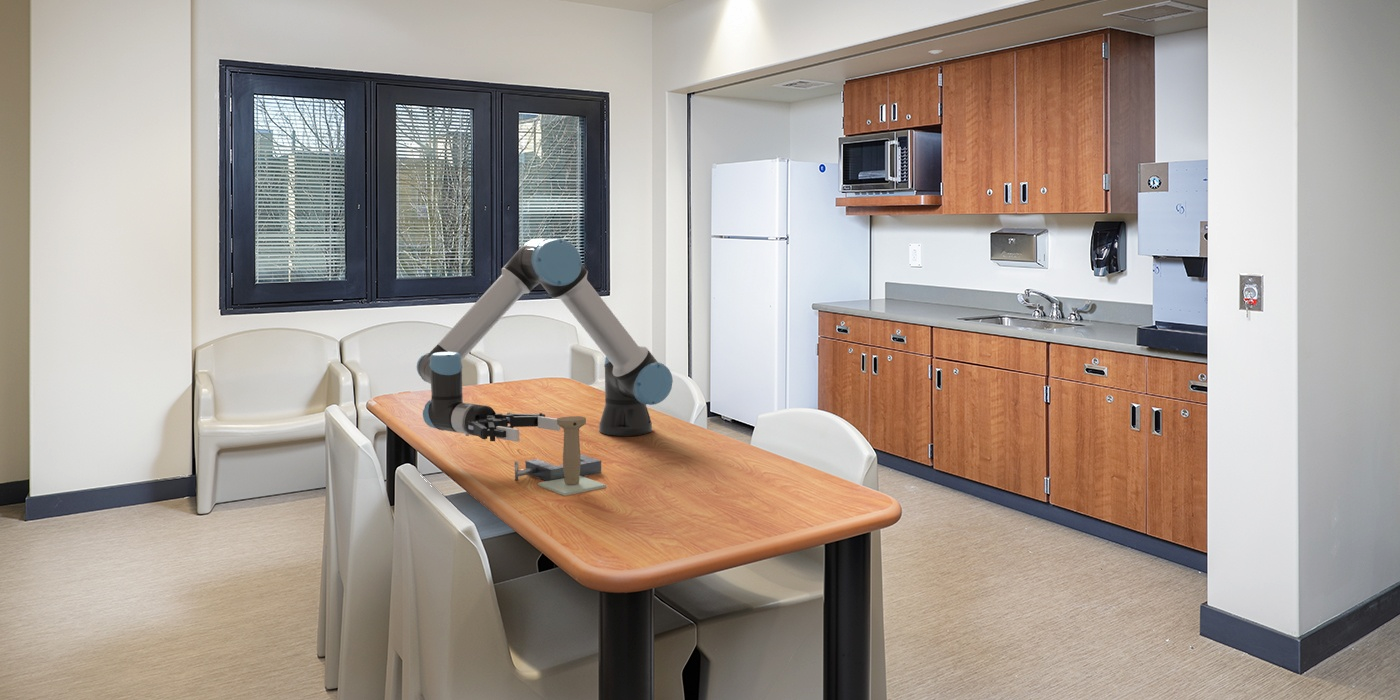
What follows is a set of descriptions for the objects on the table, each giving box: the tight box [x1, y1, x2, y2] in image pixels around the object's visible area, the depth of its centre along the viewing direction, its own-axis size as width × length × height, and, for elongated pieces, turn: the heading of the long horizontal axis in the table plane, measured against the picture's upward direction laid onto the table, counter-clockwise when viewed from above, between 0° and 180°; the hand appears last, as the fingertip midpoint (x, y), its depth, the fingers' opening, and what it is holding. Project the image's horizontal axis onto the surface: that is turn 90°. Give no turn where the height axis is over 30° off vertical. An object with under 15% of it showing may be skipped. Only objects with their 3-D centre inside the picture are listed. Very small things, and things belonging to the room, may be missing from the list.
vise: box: [514, 453, 602, 482], centre depth 228 cm, size 19×11×4 cm, turn 130°
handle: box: [556, 415, 587, 485], centre depth 217 cm, size 5×6×15 cm
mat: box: [537, 475, 607, 497], centre depth 218 cm, size 11×11×1 cm
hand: (539, 430), depth 222 cm, fingers open, 13 cm apart
